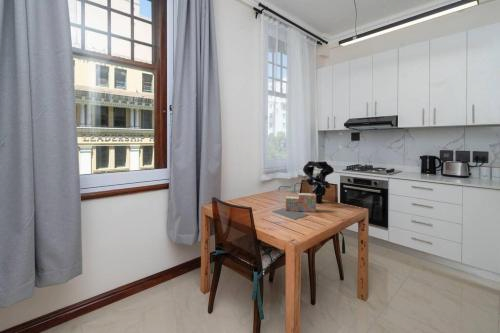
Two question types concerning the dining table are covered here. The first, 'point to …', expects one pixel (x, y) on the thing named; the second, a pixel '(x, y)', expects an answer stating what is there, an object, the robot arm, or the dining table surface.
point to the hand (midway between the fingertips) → (313, 191)
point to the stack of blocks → (301, 202)
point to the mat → (290, 213)
